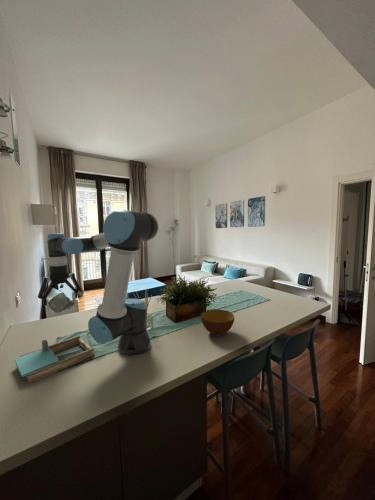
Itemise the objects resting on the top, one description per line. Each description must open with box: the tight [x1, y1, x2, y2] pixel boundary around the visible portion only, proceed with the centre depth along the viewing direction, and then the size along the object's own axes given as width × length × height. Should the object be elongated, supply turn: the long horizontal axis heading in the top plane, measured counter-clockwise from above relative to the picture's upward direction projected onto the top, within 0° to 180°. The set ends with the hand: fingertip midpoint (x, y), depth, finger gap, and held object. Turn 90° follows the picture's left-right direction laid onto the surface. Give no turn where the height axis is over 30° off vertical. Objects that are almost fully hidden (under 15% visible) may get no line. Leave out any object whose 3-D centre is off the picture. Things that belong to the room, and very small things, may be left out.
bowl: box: [200, 308, 235, 337], centre depth 117 cm, size 18×18×10 cm
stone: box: [49, 292, 74, 314], centre depth 108 cm, size 10×10×10 cm
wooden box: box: [18, 335, 95, 384], centre depth 94 cm, size 17×24×3 cm
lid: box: [14, 339, 59, 378], centre depth 88 cm, size 15×12×5 cm
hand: (61, 308), depth 109 cm, fingers closed on stone, 11 cm apart
